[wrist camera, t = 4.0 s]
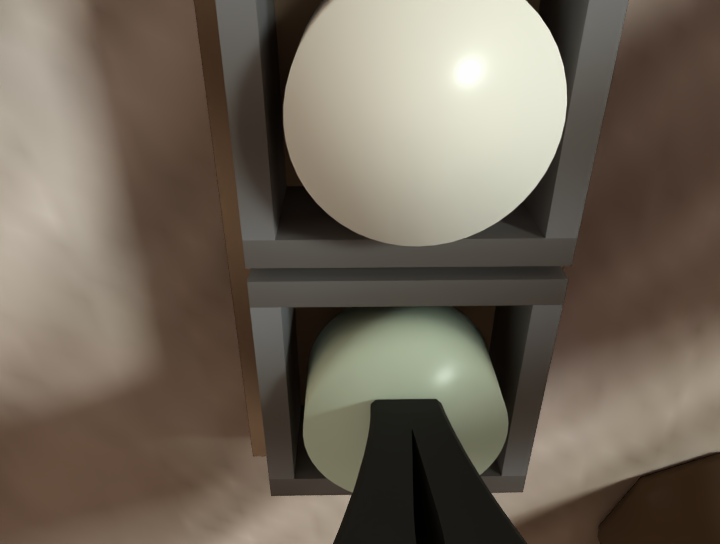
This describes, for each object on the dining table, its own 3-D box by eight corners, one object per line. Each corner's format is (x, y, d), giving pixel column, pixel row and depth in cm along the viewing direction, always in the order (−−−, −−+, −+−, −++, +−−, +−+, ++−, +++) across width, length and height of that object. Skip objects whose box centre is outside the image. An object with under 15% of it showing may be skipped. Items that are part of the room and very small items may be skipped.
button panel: (109, -875, 7) (-94, -1541, 4) (748, -859, 8) (1079, -1491, 4) (259, 419, 19) (240, 532, 15) (512, 416, 19) (549, 527, 16)
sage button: (521, 380, 14) (545, 444, 13) (380, 457, 16) (384, 525, 14) (420, 260, 12) (432, 316, 11) (270, 358, 14) (259, 422, 12)
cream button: (573, 108, 11) (615, 144, 9) (387, 235, 12) (394, 289, 10) (444, -109, 9) (467, -112, 7) (243, 67, 10) (222, 99, 9)
